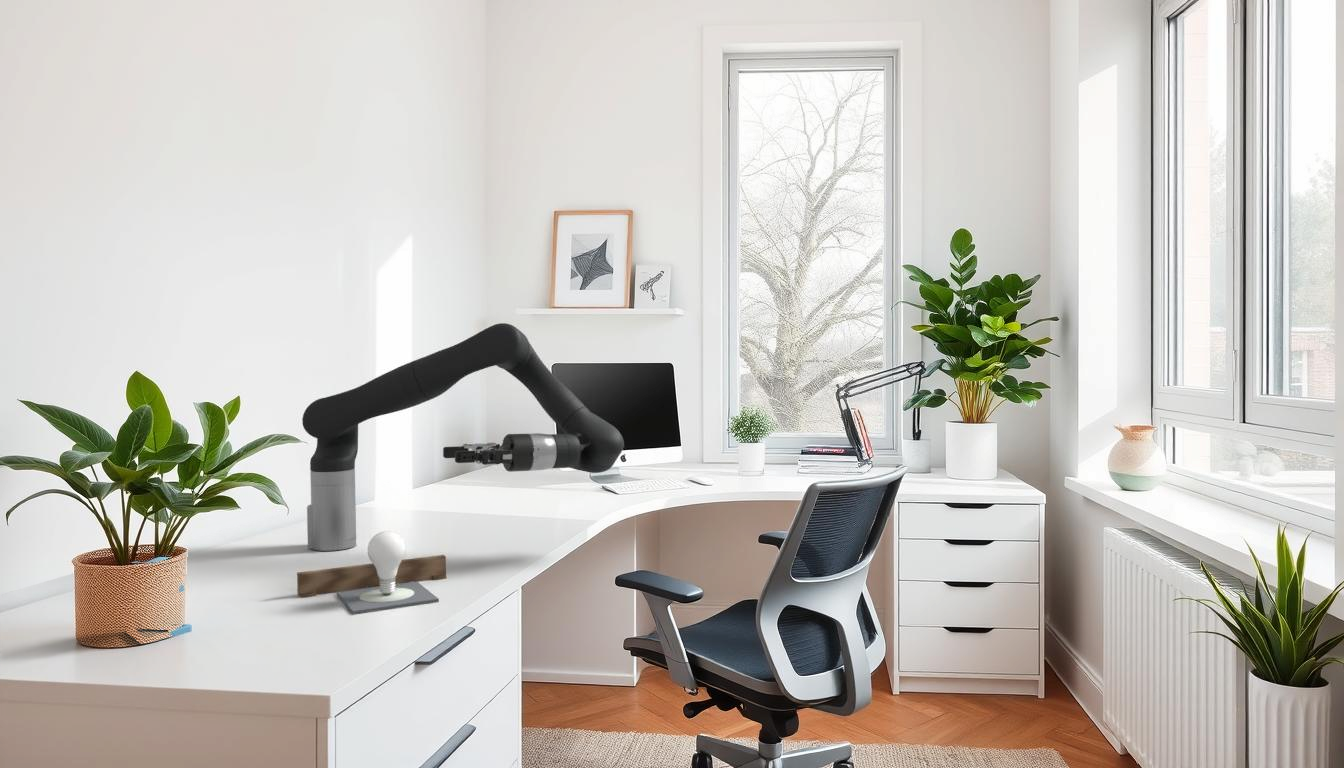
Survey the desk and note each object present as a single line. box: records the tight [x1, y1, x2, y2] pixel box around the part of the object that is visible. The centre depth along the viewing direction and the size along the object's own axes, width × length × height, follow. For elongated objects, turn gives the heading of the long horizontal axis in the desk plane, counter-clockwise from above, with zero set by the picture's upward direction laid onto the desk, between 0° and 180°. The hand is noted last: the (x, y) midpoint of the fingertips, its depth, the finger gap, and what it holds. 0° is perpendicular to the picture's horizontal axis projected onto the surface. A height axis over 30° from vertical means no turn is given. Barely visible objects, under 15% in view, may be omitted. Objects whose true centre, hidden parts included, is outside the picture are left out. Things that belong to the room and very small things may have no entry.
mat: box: [336, 581, 440, 615], centre depth 154 cm, size 14×14×1 cm
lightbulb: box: [367, 530, 407, 595], centre depth 154 cm, size 6×6×11 cm
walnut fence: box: [296, 554, 447, 599], centre depth 163 cm, size 26×3×4 cm, turn 121°
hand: (449, 454), depth 171 cm, fingers open, 8 cm apart
